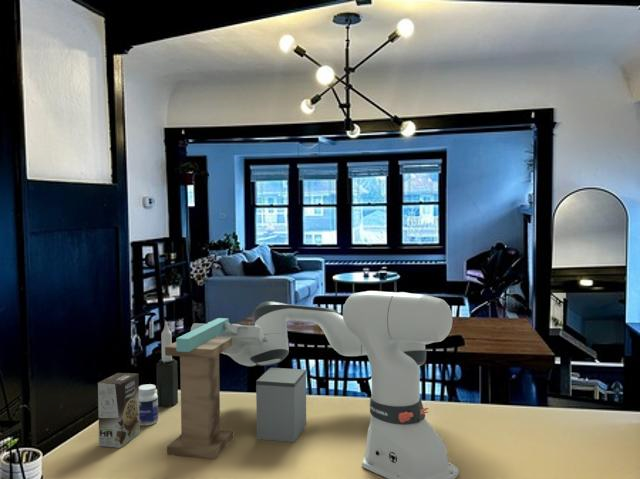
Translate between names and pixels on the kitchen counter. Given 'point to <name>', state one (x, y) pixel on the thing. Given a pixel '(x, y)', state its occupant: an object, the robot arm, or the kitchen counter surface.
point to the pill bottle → (148, 405)
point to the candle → (167, 374)
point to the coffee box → (118, 409)
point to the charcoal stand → (281, 404)
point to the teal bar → (200, 335)
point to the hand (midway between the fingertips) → (217, 325)
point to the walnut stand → (200, 401)
